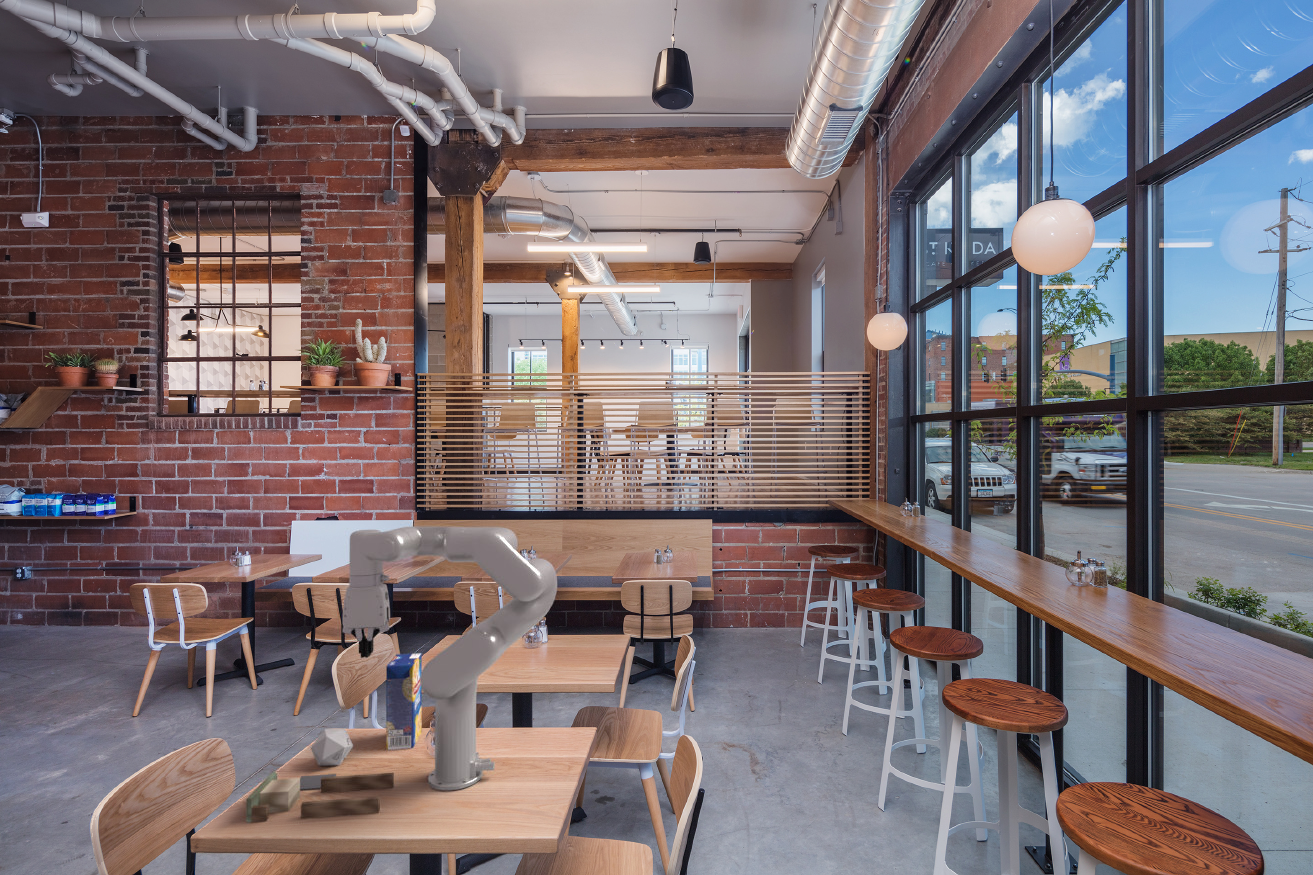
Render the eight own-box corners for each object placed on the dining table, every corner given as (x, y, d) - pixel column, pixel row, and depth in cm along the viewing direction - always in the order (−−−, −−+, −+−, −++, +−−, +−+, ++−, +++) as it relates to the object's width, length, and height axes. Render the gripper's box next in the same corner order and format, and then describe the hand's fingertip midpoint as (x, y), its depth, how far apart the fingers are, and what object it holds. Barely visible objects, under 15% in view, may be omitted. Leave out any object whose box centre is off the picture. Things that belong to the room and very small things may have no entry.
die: (324, 777, 160) (351, 738, 164) (296, 756, 162) (324, 718, 165) (339, 774, 168) (365, 737, 171) (313, 754, 170) (339, 718, 173)
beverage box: (421, 731, 185) (421, 652, 186) (413, 748, 174) (413, 664, 175) (396, 732, 184) (396, 654, 185) (386, 750, 173) (386, 666, 174)
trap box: (393, 785, 154) (393, 763, 155) (378, 812, 143) (378, 789, 143) (272, 793, 151) (272, 771, 151) (246, 822, 139) (246, 798, 139)
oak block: (299, 797, 150) (300, 777, 150) (288, 811, 144) (288, 791, 144) (272, 799, 149) (272, 779, 149) (259, 813, 143) (259, 793, 143)
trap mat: (336, 774, 160) (336, 773, 160) (325, 788, 153) (325, 787, 153) (301, 777, 159) (301, 776, 159) (289, 790, 152) (289, 789, 152)
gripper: (401, 576, 165) (401, 650, 164) (339, 578, 163) (339, 652, 163) (393, 582, 158) (393, 659, 157) (328, 584, 156) (328, 662, 155)
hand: (366, 655), depth 160 cm, fingers closed
